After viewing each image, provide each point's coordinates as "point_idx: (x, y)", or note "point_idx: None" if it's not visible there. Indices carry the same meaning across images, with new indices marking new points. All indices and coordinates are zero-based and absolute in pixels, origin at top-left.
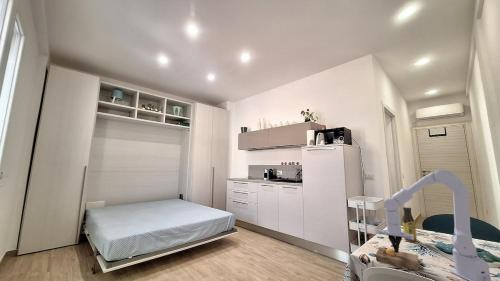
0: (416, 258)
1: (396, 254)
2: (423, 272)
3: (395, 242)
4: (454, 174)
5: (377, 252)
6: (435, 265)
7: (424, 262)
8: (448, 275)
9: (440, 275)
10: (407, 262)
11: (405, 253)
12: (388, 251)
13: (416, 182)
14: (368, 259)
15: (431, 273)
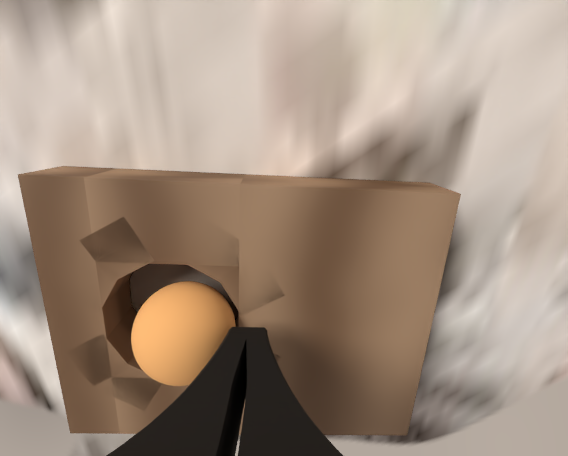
0: (424, 314)
1: (242, 312)
2: (416, 406)
3: (228, 423)
4: None
5: (61, 361)
6: (546, 224)
7: (471, 204)
8: (565, 366)
9: (512, 393)
10: (334, 431)
11: (332, 222)
12: (163, 383)
13: None
14: (40, 401)
15: (463, 394)
